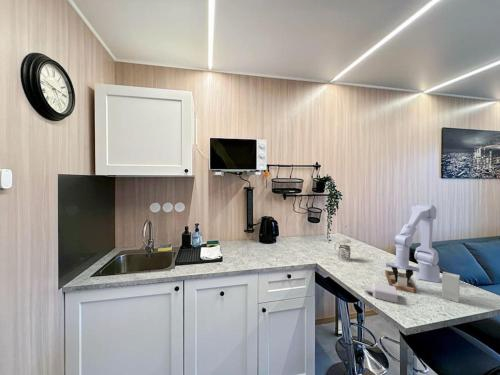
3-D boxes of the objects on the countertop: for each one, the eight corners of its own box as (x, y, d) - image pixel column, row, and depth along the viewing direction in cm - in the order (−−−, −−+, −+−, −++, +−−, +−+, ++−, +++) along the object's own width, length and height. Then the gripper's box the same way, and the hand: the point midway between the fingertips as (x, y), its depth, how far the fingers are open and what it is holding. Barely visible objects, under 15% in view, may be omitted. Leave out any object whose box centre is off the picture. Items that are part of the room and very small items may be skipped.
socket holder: (407, 277, 126) (407, 273, 125) (416, 293, 107) (416, 289, 107) (385, 273, 130) (385, 270, 130) (390, 288, 112) (390, 284, 112)
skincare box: (459, 299, 101) (460, 274, 101) (458, 303, 98) (460, 277, 98) (442, 294, 106) (443, 270, 106) (441, 298, 103) (442, 273, 103)
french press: (353, 262, 147) (354, 226, 147) (335, 261, 150) (336, 225, 149) (349, 257, 157) (350, 224, 156) (333, 256, 159) (334, 223, 159)
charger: (360, 287, 112) (394, 295, 105) (360, 295, 104) (397, 304, 97) (360, 278, 112) (394, 285, 105) (360, 286, 104) (397, 294, 97)
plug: (404, 284, 115) (405, 273, 115) (406, 288, 110) (407, 277, 110) (395, 282, 116) (396, 271, 116) (397, 286, 112) (398, 275, 112)
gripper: (387, 257, 112) (386, 282, 113) (421, 262, 106) (420, 289, 106) (385, 253, 119) (384, 277, 119) (417, 257, 112) (416, 283, 113)
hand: (401, 282), depth 113 cm, fingers closed on plug, 4 cm apart
